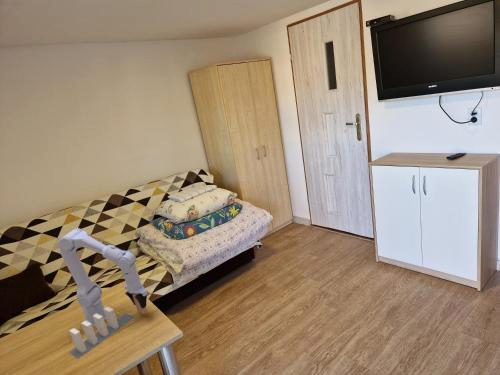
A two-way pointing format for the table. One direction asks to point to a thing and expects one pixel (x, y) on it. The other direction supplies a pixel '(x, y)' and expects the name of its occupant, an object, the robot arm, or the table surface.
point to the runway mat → (121, 322)
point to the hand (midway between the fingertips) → (140, 305)
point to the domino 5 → (138, 307)
